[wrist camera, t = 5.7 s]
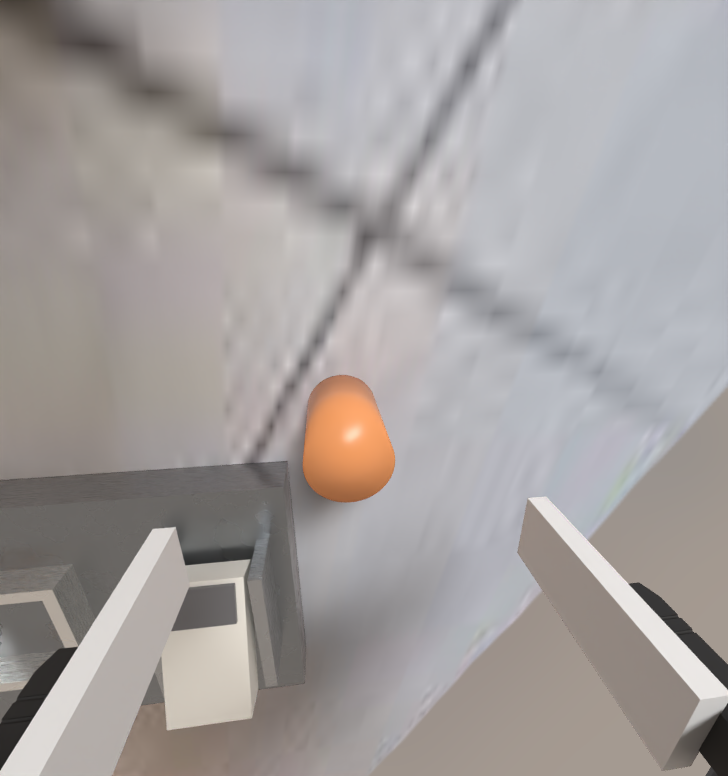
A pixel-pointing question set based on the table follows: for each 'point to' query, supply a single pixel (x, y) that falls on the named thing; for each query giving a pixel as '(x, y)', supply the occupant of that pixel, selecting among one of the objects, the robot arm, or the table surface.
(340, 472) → the cap
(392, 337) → the table surface
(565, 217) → the table surface
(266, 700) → the table surface
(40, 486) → the breaker panel
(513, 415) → the table surface
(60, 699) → the robot arm
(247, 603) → the block
